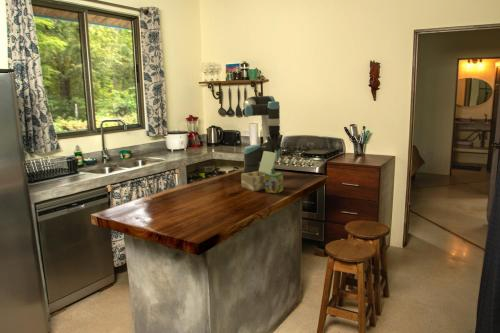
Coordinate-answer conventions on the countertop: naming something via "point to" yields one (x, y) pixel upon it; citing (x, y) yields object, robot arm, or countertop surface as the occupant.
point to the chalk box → (273, 182)
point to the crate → (253, 181)
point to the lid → (267, 161)
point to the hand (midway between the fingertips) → (274, 160)
